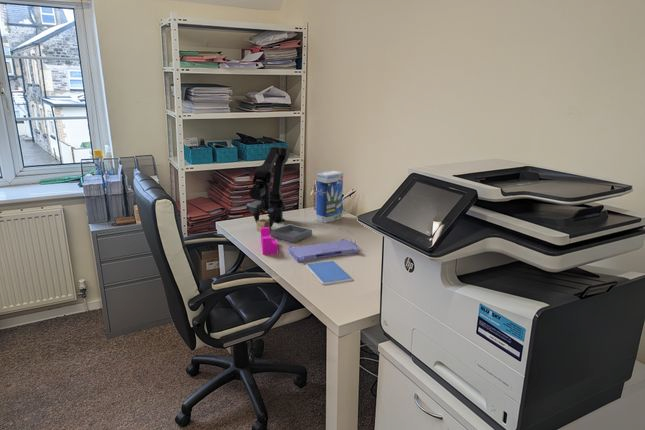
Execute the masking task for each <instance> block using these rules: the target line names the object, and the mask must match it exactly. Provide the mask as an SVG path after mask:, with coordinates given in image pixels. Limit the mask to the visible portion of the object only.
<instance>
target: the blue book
mask: <svg viewBox="0 0 645 430" xmlns="http://www.w3.org/2000/svg"><path fill="white" fill-rule="evenodd" d="M305 267H306V268H307V269H308V270H309V271H310V272H311V273H312V275H313V276H314V277H315V278H316V279H317V280H318V281H319V282H320V283H321V285H324V286H327V285H333V284H335V285H336V284H341V283H347V282H352V281H354V278H353V277H351V275H350V274H348V272H347V271H345V269H343V267H341V266H340V265H339V264H338V263H337V262H336V261H334V260H328V261H320V262H319V261H318V262H312V263H306V264H305Z"/></svg>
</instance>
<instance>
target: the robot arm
mask: <svg viewBox="0 0 645 430" xmlns="http://www.w3.org/2000/svg"><path fill="white" fill-rule="evenodd" d="M290 151H291V150H290V149H289V148H288V147H285V146H283V147H282V146H270V148H269V151H268V153H267V155H266V158H265V160H264V162H263V163H262V164H261V165H259V166H257V169H256V170H255V172H254V176H253V177H252V188H250V190H249V192H248V194H249V196H250V198H251V199H252V200H254V201H252V202H248V203H247V204H246V206H245V207H246V210H248V212H250V213H252V216H253V218H254V221H255V223H256V224H257V221H258V220H260V213H261V212H262V211H266V212H267V217H268V219H267V220H269V224H270V227H271V228H272V227H273V226H274V223H275V224H276V223H277V224H278V223H281V222H283V221H285V218H284V217H283V215H284V214H283V211H286V207H287V206H286V203H285V201H284V195H283V194H282V184H283V176H284V170H285V169H284V167H285V164H286V163H287V162H288V160H289V156H290ZM273 168H274V171H273ZM272 178H273V180H272ZM271 181H272V186H271V187H272V188H271V191H270V184H271Z"/></svg>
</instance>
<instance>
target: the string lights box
mask: <svg viewBox="0 0 645 430" xmlns="http://www.w3.org/2000/svg"><path fill="white" fill-rule="evenodd" d="M343 184H344V171H343V172H342V171H337V170H331V171H330V170H329V171H324V172H319V173H317V174H316V206H315V207H316V209H315V210H316V211H315V212H316V213H315V221H317V222H321V223H325V224H327V223H331V222H334V221H338V220H341V219H342V215H343V213H342V212H343V211H342V208H343V187H344V185H343Z"/></svg>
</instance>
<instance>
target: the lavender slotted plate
mask: <svg viewBox="0 0 645 430" xmlns="http://www.w3.org/2000/svg"><path fill="white" fill-rule="evenodd" d="M356 243H357V242H356V240H355V241H354V242H353V239H352V238H350V240H347V239H345V238H341V239H340V240H338V241H329V242H325V243H317V244H309V245H302V246H296V247H295V246H294V247H293V246H292V245H290V246H289V245H288V254H289V255H290V256H291V257H292V258H293V259H294V260H295V261H296V262H297V263H301V262H310V261H316V260H318V259H325V258H329V257H335V256H347V255H352V254H353V255H354V254H359V253H360V249H359V247H358V245H357V244H356Z"/></svg>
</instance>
